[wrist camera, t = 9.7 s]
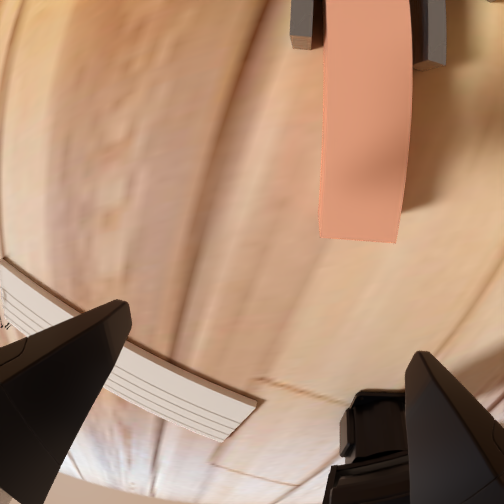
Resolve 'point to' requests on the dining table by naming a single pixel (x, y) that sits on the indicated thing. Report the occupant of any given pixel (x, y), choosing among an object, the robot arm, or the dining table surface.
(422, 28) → the bracket
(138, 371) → the baseboard
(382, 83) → the rail
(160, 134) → the dining table surface
